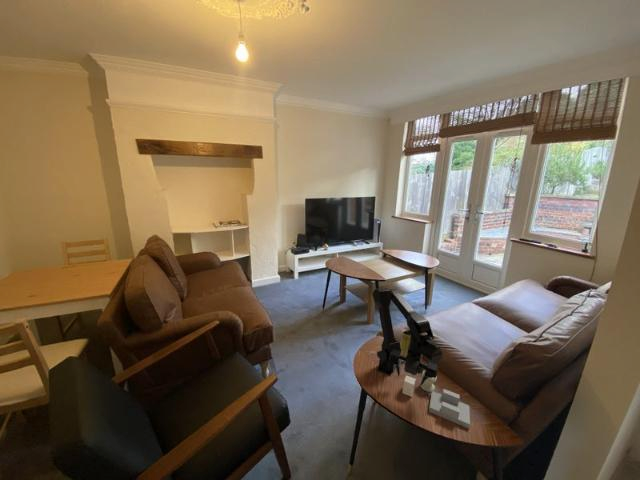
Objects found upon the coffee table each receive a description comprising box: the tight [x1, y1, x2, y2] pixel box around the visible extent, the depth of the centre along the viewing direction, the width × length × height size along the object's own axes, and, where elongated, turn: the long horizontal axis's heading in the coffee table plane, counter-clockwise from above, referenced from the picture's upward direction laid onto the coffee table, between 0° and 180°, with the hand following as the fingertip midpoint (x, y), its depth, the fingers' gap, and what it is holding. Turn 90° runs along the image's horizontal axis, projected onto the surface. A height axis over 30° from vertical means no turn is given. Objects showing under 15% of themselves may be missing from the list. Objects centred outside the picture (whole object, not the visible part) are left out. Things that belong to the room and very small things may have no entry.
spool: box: [419, 370, 438, 393], centre depth 116 cm, size 6×6×6 cm
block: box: [401, 375, 417, 398], centre depth 112 cm, size 4×4×6 cm
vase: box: [400, 330, 410, 357], centre depth 134 cm, size 6×6×14 cm
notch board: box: [428, 388, 471, 430], centre depth 104 cm, size 14×10×5 cm
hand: (409, 380), depth 111 cm, fingers open, 9 cm apart
